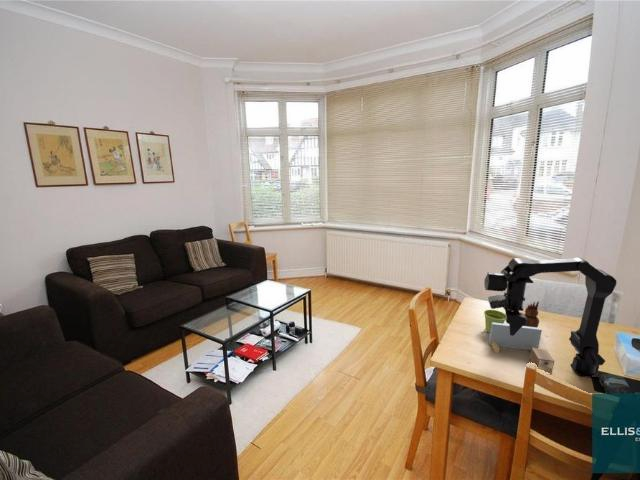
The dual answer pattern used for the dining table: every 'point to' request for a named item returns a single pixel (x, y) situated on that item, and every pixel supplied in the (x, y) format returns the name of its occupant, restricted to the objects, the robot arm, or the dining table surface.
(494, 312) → the plant pot
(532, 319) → the wooden figurine
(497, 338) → the grey toy bench
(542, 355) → the cabinet block
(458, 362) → the dining table surface
